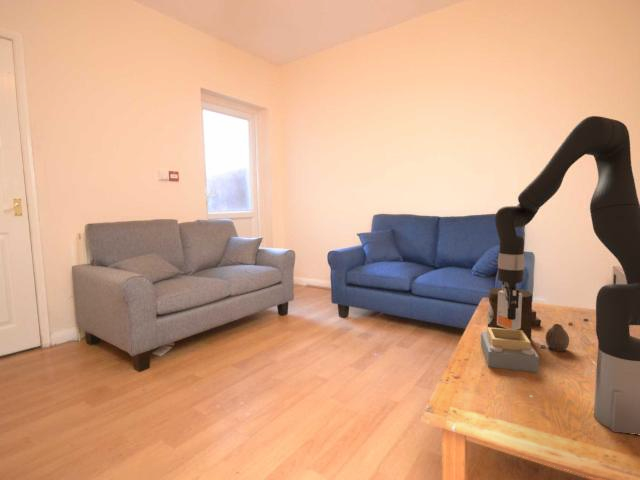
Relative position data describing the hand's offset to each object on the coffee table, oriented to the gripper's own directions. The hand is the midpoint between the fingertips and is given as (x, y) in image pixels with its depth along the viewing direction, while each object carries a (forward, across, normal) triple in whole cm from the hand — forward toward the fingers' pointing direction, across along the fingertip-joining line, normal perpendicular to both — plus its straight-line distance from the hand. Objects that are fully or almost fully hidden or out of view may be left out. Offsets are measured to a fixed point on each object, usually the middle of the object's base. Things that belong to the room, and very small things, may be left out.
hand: (508, 315), depth 115 cm
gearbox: (+15, 0, 0) cm, 15 cm away
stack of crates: (+16, +38, -14) cm, 43 cm away
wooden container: (+15, +19, -4) cm, 24 cm away
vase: (+15, +12, -18) cm, 26 cm away
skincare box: (+4, 0, 0) cm, 4 cm away
